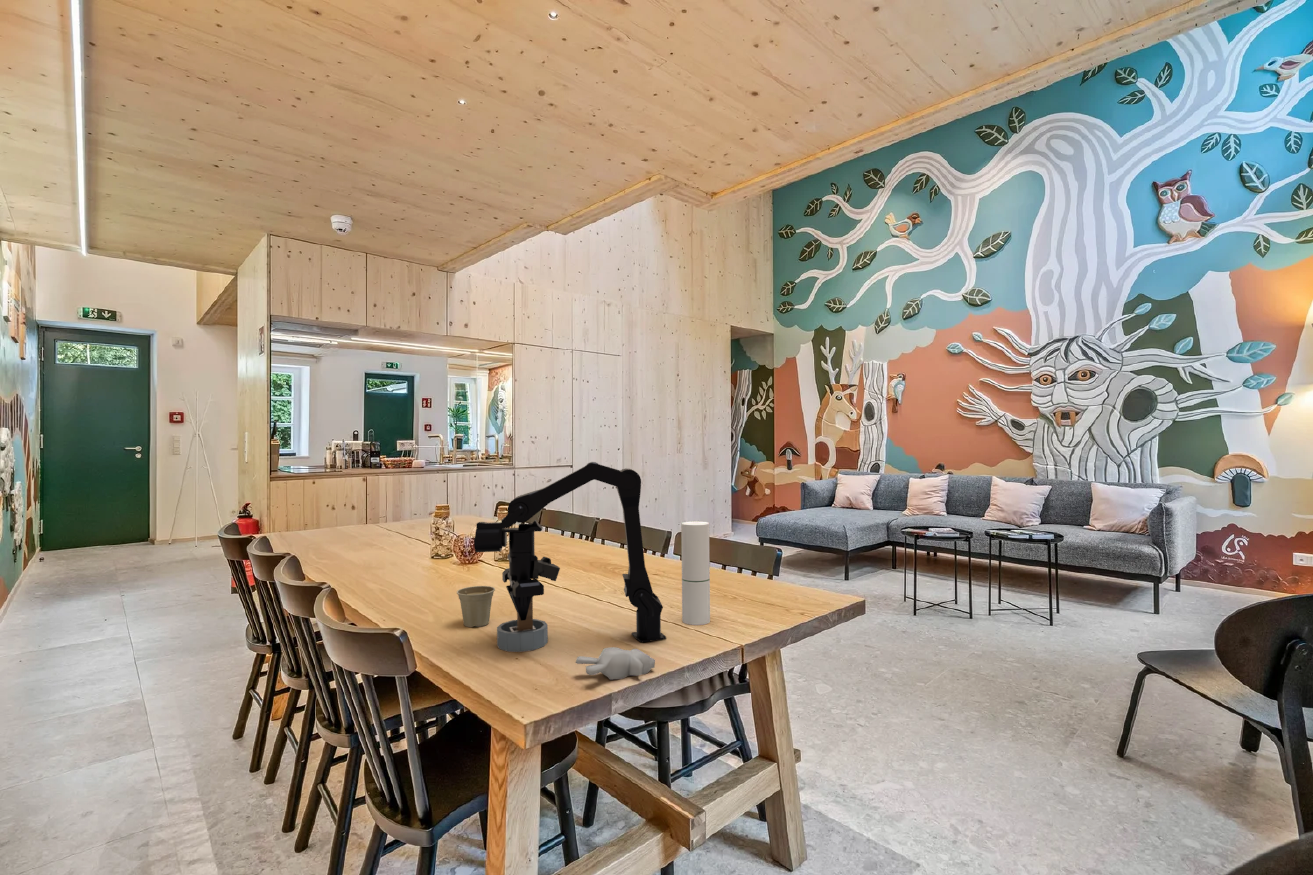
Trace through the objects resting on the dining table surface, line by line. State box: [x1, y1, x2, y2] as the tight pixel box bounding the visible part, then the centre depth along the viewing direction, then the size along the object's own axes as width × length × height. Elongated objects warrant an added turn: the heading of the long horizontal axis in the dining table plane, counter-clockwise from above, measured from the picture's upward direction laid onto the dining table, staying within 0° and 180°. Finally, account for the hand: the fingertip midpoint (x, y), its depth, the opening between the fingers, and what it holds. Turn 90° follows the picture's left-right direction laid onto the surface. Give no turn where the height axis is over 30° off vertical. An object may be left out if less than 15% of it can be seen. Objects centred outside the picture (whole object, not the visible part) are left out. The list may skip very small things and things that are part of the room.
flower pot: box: [456, 585, 496, 628], centre depth 155 cm, size 9×9×9 cm
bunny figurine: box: [574, 646, 656, 681], centre depth 120 cm, size 10×5×15 cm
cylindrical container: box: [680, 520, 711, 626], centre depth 156 cm, size 7×7×25 cm
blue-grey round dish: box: [496, 618, 549, 653], centre depth 140 cm, size 11×11×4 cm
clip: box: [509, 626, 536, 633], centre depth 140 cm, size 4×5×2 cm
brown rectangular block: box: [516, 596, 534, 631], centre depth 140 cm, size 2×3×9 cm, turn 113°
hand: (522, 618), depth 140 cm, fingers closed on brown rectangular block, 2 cm apart
